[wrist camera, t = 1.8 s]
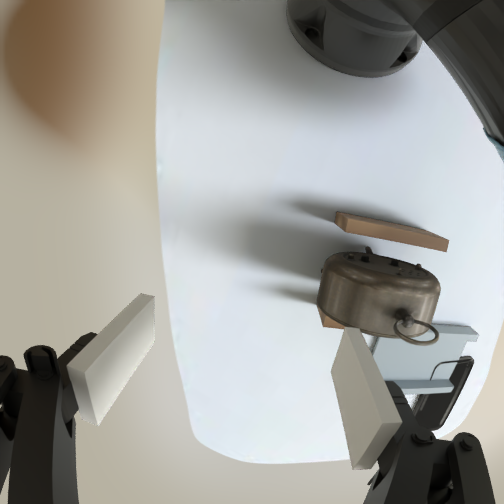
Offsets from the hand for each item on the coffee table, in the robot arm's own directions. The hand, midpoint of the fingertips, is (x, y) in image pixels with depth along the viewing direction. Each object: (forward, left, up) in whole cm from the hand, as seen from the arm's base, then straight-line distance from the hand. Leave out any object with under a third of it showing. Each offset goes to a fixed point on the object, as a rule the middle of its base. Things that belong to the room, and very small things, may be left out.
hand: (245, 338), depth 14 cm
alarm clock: (0, +11, -18) cm, 21 cm away
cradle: (+11, +23, -18) cm, 31 cm away
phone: (+19, +30, -18) cm, 40 cm away
